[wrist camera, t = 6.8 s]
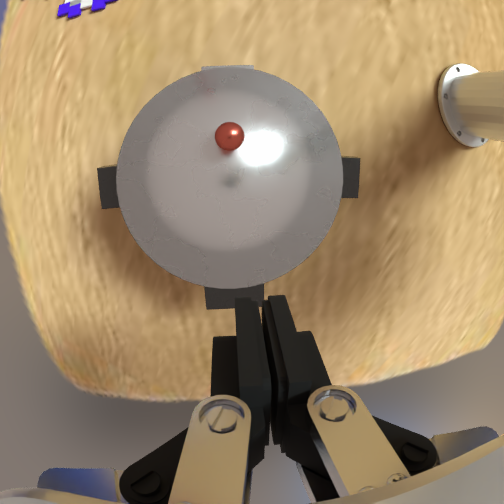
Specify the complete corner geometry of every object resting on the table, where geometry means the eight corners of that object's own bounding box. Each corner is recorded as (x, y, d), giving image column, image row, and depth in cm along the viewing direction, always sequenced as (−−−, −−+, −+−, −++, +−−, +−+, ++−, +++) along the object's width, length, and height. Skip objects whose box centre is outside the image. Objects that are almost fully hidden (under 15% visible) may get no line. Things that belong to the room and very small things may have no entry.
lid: (338, 75, 21) (352, 69, 18) (328, 294, 28) (338, 310, 26) (116, 82, 19) (103, 76, 17) (140, 304, 27) (133, 322, 24)
